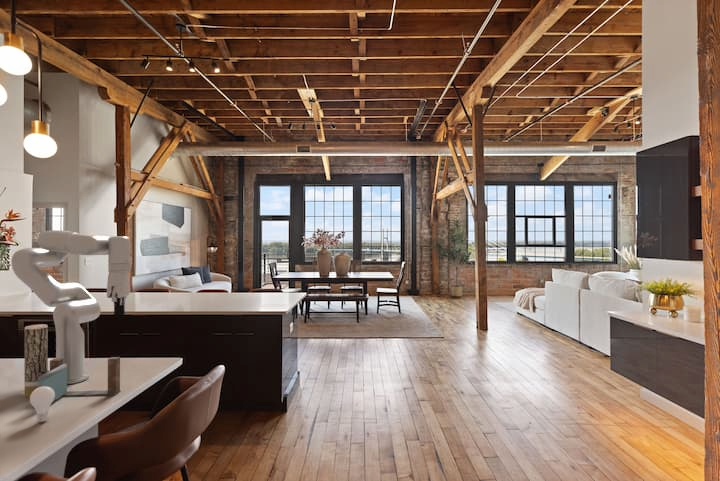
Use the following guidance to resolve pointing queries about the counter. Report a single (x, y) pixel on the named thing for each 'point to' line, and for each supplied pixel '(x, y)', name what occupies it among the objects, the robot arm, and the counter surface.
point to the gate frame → (112, 379)
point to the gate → (55, 380)
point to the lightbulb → (42, 401)
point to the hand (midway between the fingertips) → (119, 315)
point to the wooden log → (35, 356)
